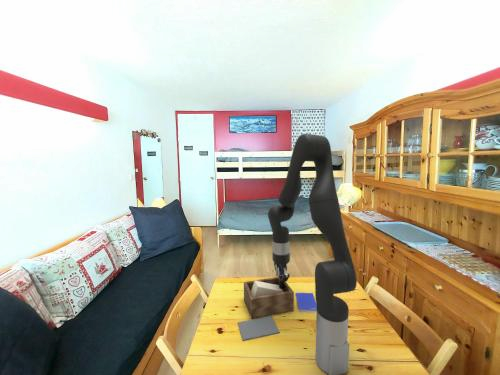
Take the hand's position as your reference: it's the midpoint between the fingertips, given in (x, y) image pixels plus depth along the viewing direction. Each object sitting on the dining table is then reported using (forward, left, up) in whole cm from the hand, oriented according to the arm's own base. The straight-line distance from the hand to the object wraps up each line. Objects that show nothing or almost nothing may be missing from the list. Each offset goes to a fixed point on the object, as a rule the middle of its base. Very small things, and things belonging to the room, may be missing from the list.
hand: (281, 287), depth 102 cm
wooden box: (0, +7, -7) cm, 10 cm away
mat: (-12, +15, -7) cm, 20 cm away
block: (0, +8, -3) cm, 8 cm away
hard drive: (-3, -10, -8) cm, 13 cm away
